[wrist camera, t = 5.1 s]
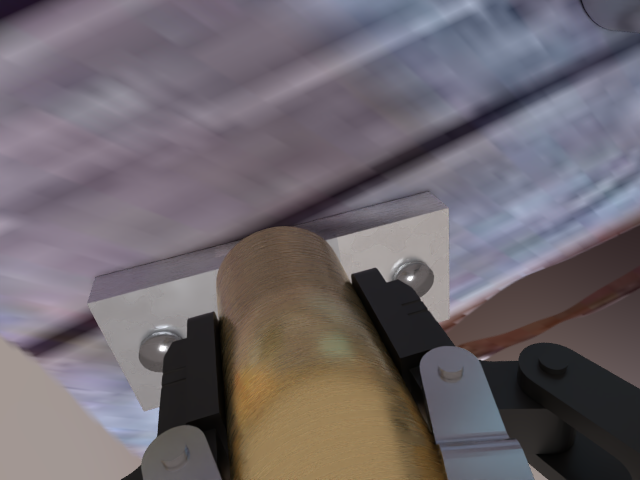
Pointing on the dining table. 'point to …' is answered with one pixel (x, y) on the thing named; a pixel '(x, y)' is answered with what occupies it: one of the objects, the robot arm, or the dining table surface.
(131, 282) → the studded base plate
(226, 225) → the dining table surface
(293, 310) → the brass pin
